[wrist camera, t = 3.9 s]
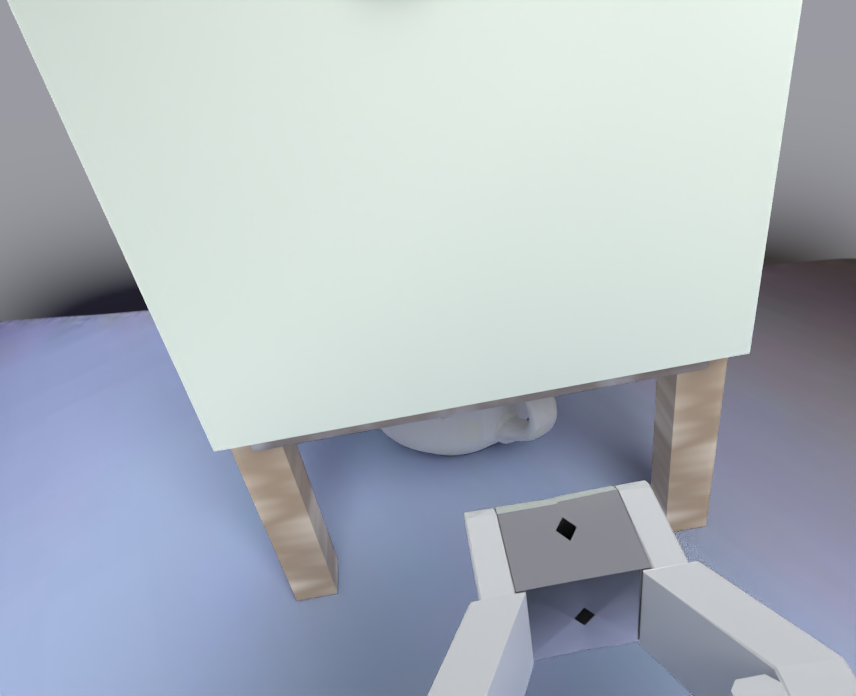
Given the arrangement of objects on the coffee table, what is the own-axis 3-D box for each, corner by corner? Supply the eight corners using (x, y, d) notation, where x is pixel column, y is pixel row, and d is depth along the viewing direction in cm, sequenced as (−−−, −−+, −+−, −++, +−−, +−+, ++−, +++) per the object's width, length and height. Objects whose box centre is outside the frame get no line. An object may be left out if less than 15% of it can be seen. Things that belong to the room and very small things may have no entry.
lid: (219, 424, 27) (207, 483, 24) (-51, -193, 16) (-125, -202, 13) (730, 330, 27) (771, 379, 24) (818, -355, 16) (909, -396, 13)
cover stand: (296, 609, 33) (220, 439, 27) (310, 366, 49) (265, 222, 42) (710, 534, 33) (736, 344, 27) (590, 315, 49) (587, 163, 42)
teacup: (351, 398, 45) (322, 295, 41) (499, 343, 48) (488, 240, 43) (431, 554, 35) (404, 437, 30) (618, 473, 37) (620, 353, 32)
